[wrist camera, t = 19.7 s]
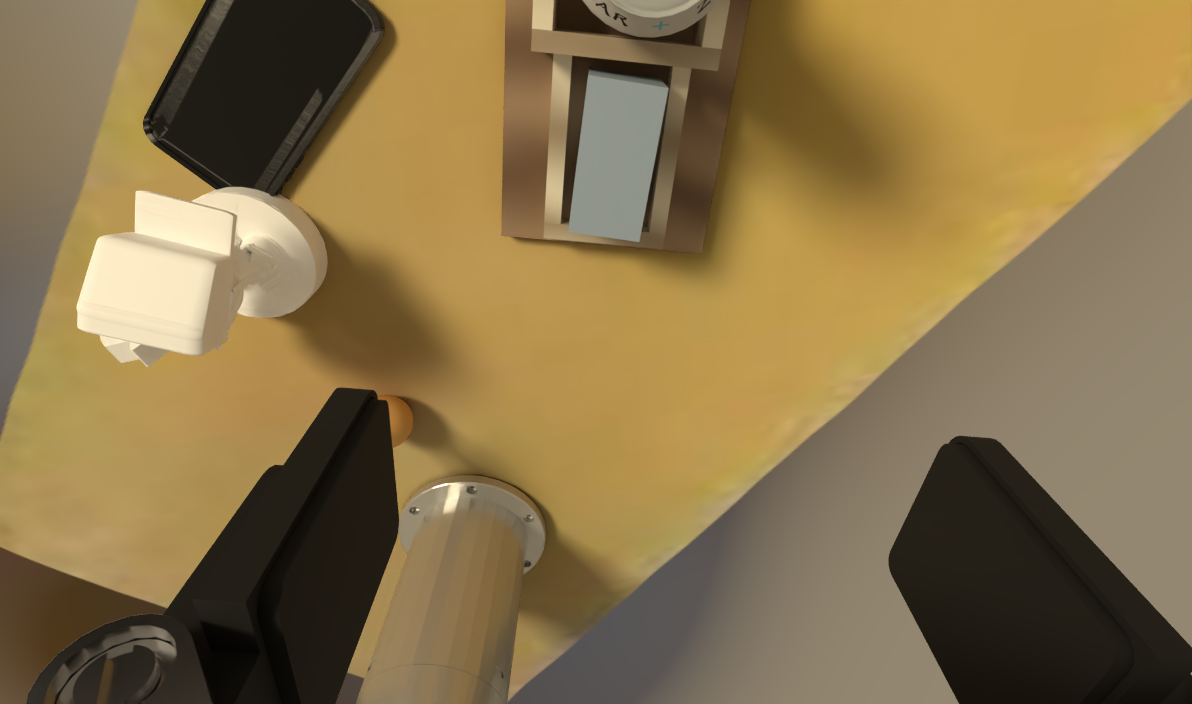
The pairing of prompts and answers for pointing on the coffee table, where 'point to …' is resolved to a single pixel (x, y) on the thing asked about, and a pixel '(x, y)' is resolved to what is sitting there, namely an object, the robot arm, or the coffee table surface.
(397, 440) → the figurine
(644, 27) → the energy drink can
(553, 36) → the jig
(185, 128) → the phone
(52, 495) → the coffee table surface
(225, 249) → the character figurine
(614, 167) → the wing block
